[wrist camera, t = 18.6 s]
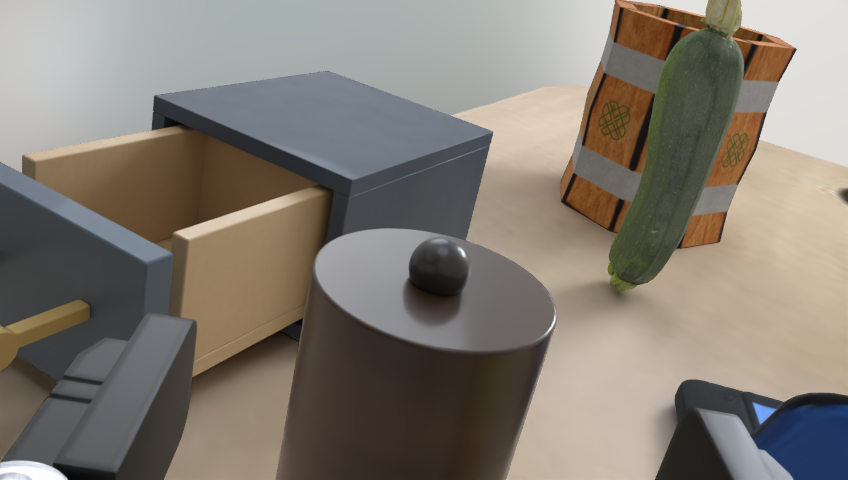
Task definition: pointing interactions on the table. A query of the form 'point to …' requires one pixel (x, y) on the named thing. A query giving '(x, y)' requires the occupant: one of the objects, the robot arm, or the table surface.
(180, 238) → the drawer
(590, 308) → the table surface
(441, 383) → the pepper mill
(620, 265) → the vegetable
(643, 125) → the mug
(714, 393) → the game console
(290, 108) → the cabinet
